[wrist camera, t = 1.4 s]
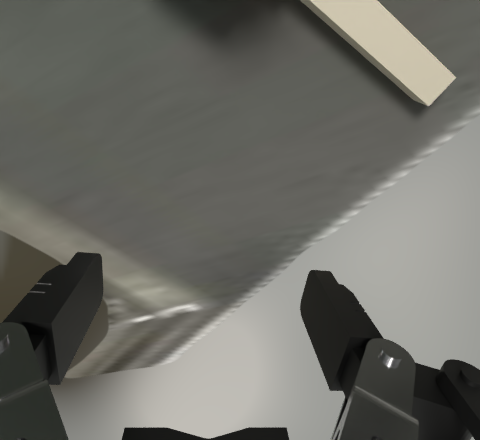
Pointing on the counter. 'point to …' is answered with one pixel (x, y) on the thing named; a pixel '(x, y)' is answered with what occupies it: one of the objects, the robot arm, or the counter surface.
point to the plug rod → (386, 46)
